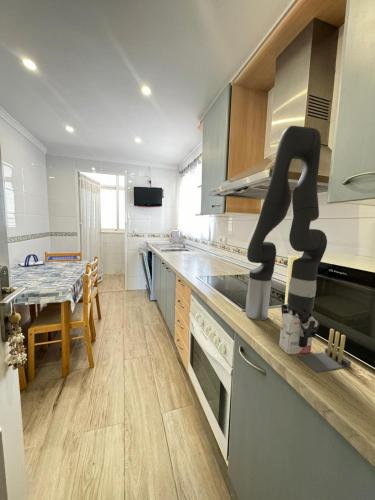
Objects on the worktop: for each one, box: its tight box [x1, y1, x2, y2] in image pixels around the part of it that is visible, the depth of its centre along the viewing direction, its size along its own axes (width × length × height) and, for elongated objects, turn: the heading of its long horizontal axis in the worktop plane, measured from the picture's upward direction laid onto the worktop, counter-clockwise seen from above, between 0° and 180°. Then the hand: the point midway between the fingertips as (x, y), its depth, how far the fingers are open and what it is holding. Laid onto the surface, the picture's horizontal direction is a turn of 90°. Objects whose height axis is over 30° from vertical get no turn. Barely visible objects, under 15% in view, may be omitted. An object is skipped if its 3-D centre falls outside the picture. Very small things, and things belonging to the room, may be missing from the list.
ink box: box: [278, 313, 315, 355], centre depth 68 cm, size 9×5×12 cm, turn 99°
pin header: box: [324, 328, 352, 368], centre depth 64 cm, size 7×3×9 cm, turn 15°
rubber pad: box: [297, 351, 344, 373], centre depth 63 cm, size 7×10×1 cm
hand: (295, 341), depth 69 cm, fingers closed on ink box, 5 cm apart
